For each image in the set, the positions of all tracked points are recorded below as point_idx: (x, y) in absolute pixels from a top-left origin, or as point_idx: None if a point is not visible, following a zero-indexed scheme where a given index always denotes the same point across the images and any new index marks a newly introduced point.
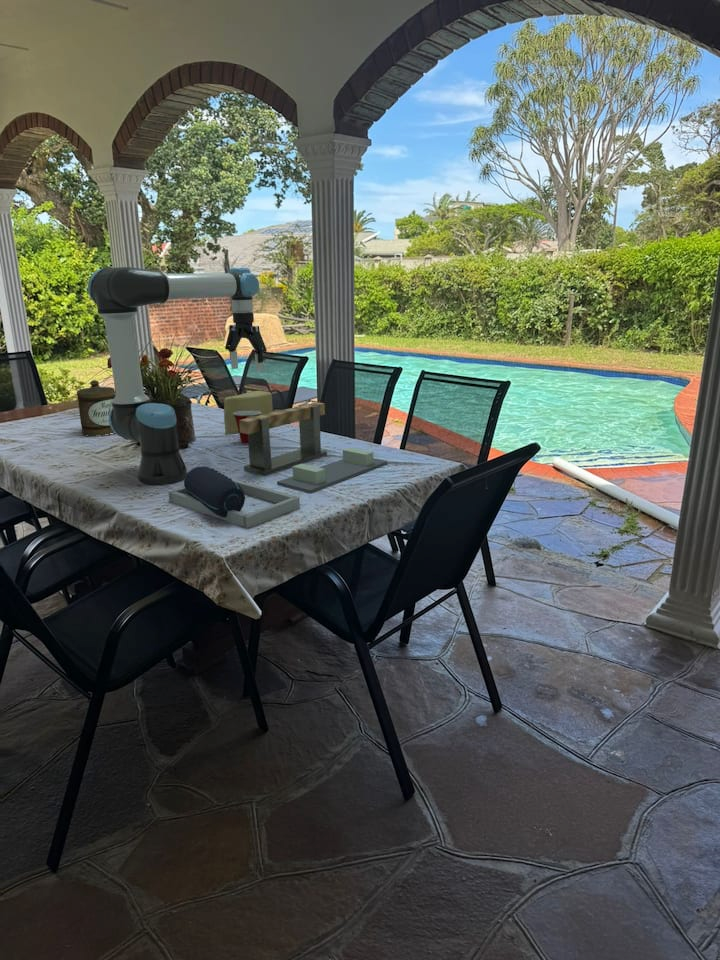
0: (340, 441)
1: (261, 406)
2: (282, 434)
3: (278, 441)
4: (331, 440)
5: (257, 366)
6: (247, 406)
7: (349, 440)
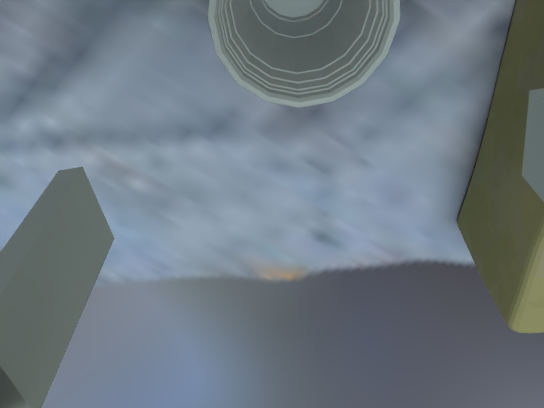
0: None
1: (500, 233)
2: (301, 171)
3: (203, 91)
4: None
5: (35, 214)
6: None
7: None
